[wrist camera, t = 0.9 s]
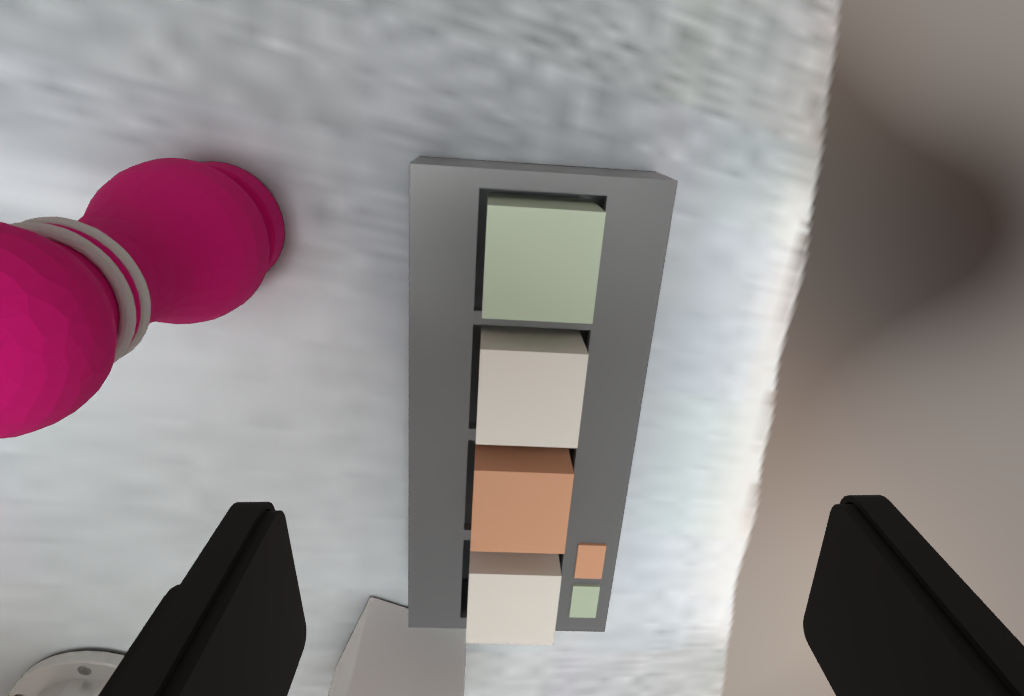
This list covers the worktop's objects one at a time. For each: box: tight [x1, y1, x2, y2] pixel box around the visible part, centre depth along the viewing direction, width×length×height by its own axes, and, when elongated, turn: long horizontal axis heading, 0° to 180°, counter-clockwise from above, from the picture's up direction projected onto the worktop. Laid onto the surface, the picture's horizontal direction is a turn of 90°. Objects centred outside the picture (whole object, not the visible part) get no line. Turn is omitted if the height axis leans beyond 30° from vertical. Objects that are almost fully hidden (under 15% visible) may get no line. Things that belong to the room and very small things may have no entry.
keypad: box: [408, 156, 677, 632], centre depth 34 cm, size 27×12×4 cm, turn 176°
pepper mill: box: [0, 158, 285, 438], centre depth 22 cm, size 7×7×20 cm
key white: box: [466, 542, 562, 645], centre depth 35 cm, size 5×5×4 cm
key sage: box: [482, 193, 606, 324], centre depth 28 cm, size 5×5×4 cm
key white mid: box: [476, 325, 589, 448], centre depth 31 cm, size 5×5×4 cm
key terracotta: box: [470, 441, 574, 554], centre depth 33 cm, size 5×5×4 cm
